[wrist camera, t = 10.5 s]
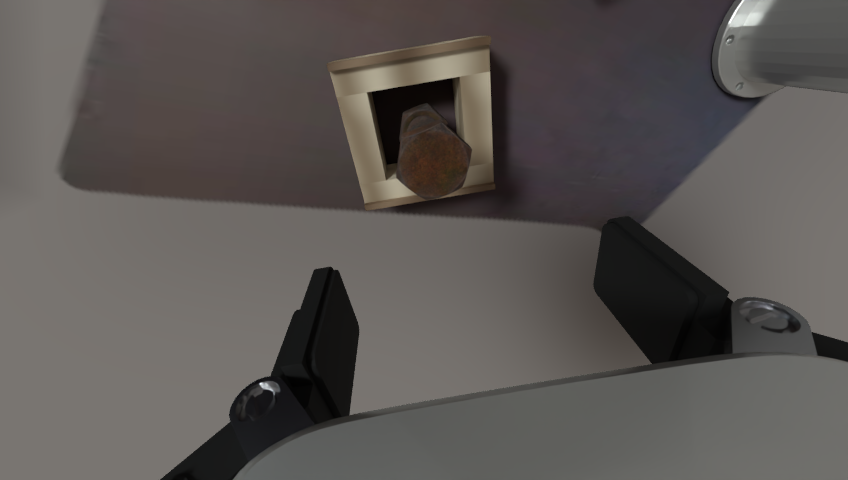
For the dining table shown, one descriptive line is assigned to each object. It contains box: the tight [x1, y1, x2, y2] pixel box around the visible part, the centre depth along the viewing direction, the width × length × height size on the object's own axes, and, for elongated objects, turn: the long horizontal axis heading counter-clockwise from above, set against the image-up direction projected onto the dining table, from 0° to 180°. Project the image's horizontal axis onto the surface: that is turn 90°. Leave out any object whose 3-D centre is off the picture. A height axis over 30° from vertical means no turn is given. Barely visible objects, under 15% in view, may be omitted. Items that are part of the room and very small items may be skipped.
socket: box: [327, 36, 495, 211], centre depth 34 cm, size 14×14×6 cm
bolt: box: [396, 103, 472, 200], centre depth 30 cm, size 6×5×15 cm
